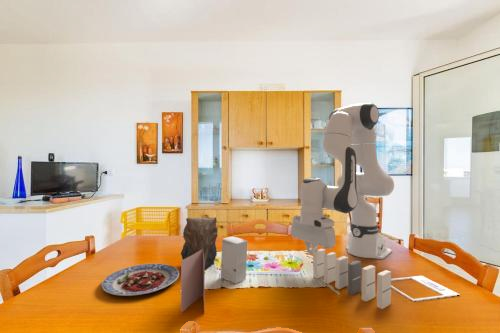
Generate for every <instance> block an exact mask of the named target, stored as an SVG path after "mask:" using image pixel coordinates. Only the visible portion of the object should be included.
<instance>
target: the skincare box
mask: <svg viewBox="0 0 500 333" xmlns="http://www.w3.org/2000/svg"><path fill="white" fill-rule="evenodd" d="M221 241H222V242H221V259H220V260H221V263H220V278H222V279H223V280H227V281H229V282H231V283H233V284H238V283H239V282H242V281H245V280H246V279H247V278H246V277H247V256H248V240H247V239H246V240H245V239H243V238H240V237H237V236H228V237H223V238H222V240H221Z"/></svg>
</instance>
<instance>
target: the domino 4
mask: <svg viewBox="0 0 500 333" xmlns="http://www.w3.org/2000/svg"><path fill="white" fill-rule="evenodd" d="M360 292H362V261H360V260H354V261H351V262H348V286H347V293H348V294H349V295H351V296H354V295H355V294H358V293H360Z"/></svg>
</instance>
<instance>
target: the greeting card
mask: <svg viewBox="0 0 500 333" xmlns="http://www.w3.org/2000/svg"><path fill="white" fill-rule="evenodd" d="M180 262H181V263H180V266H181V267H180V268H181V269H180V283H181V284H180V293H181V294H180V313H183V312H184V311H186V309H188V308H189V307H190V306H191V305H193V303H195V302H196V301H197V300H199V298H201V297H202V303H203V311H205V308H206V307H205V300H206V299H205V275H206V274H205V272H206V270H205V261H204V253H203V249H202V250H200V251H199V252H197V253H195V254H193V255H191V256H189V257H188V258H186V259H184V260H183V259H182V260H181V261H180Z"/></svg>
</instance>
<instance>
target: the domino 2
mask: <svg viewBox="0 0 500 333" xmlns="http://www.w3.org/2000/svg"><path fill="white" fill-rule="evenodd" d="M335 259H337V253H336V252H333V251H331V252H328V253H325V255H324V276H323V282H324V283H326V284H330V283H332V282H335Z"/></svg>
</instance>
